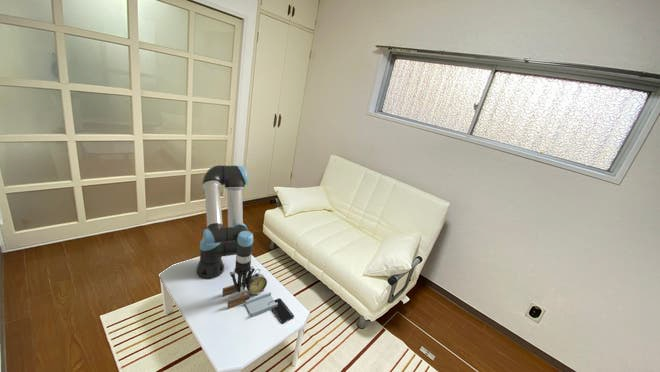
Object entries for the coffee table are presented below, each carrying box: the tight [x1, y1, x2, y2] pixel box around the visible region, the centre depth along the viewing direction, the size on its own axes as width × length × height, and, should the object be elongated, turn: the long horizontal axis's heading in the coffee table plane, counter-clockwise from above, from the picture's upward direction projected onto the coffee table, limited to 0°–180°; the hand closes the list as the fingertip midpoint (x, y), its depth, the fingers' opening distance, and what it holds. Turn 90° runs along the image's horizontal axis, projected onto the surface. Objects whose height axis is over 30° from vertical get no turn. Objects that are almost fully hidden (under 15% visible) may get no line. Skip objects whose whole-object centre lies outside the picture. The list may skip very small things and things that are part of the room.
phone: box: [268, 297, 295, 324], centre depth 142 cm, size 8×1×15 cm
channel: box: [221, 281, 251, 310], centre depth 144 cm, size 10×11×5 cm
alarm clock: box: [245, 268, 268, 296], centre depth 148 cm, size 11×5×16 cm, turn 128°
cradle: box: [244, 291, 278, 318], centre depth 143 cm, size 10×14×2 cm, turn 128°
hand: (240, 295), depth 145 cm, fingers closed
